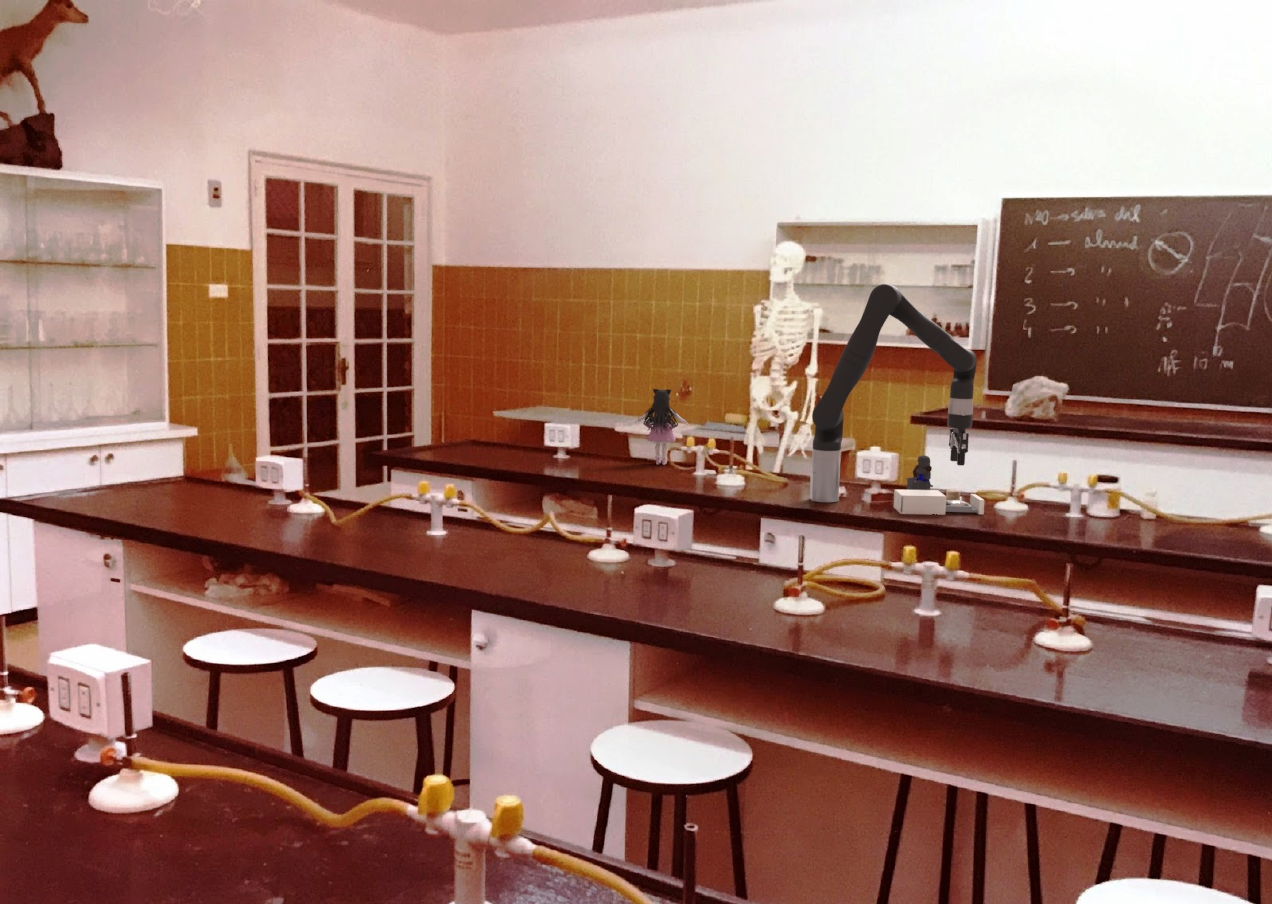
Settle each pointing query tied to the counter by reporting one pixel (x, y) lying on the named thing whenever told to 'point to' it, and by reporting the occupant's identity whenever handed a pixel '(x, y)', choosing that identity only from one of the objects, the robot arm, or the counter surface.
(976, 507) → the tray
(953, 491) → the pedestal
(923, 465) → the toy
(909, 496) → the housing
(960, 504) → the puck
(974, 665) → the counter surface
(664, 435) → the figurine
